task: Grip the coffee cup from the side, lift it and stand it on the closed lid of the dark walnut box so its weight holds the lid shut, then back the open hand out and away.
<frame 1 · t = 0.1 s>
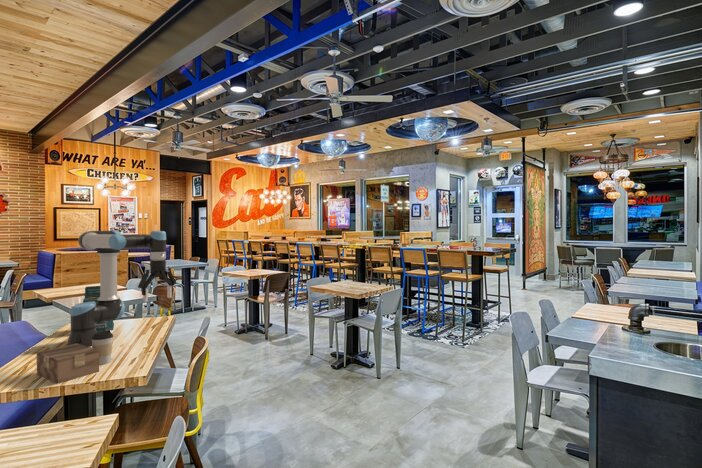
hand: (157, 299, 202), 28 cm above the table, tool pointing down, fingers open, 13 cm apart
walnut box: (68, 373, 171), on the table
coffee cup: (102, 363, 184), on the table
donation box: (98, 330, 246), on the table
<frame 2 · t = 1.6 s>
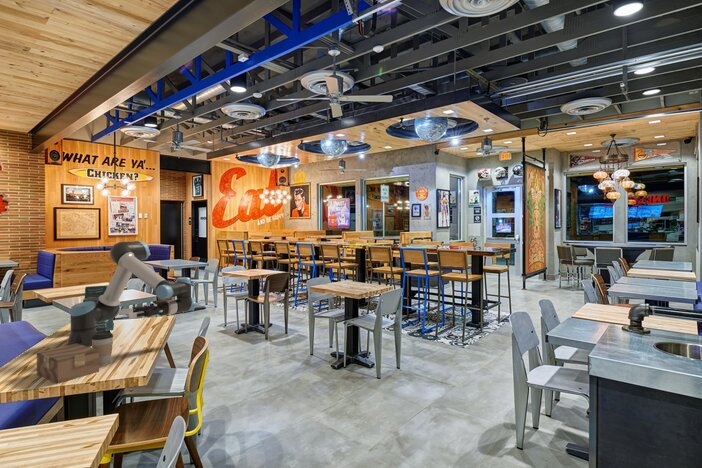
hand: (124, 314, 192), 22 cm above the table, tool horizontal, fingers open, 13 cm apart
nothing on the table moved.
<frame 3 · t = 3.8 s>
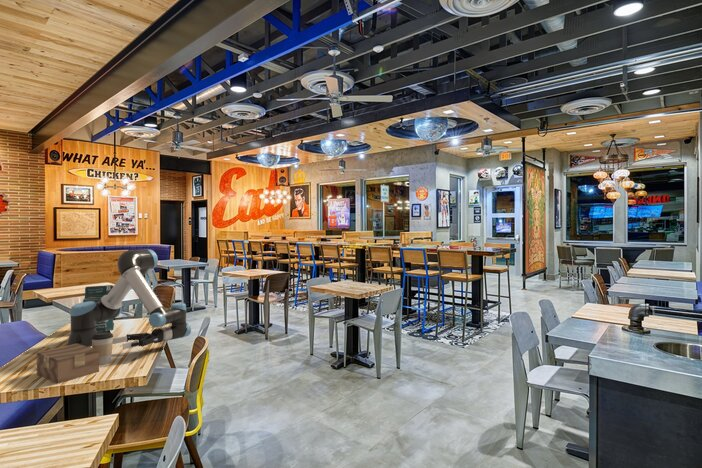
hand: (117, 343, 189), 8 cm above the table, tool horizontal, fingers open, 13 cm apart
nothing on the table moved.
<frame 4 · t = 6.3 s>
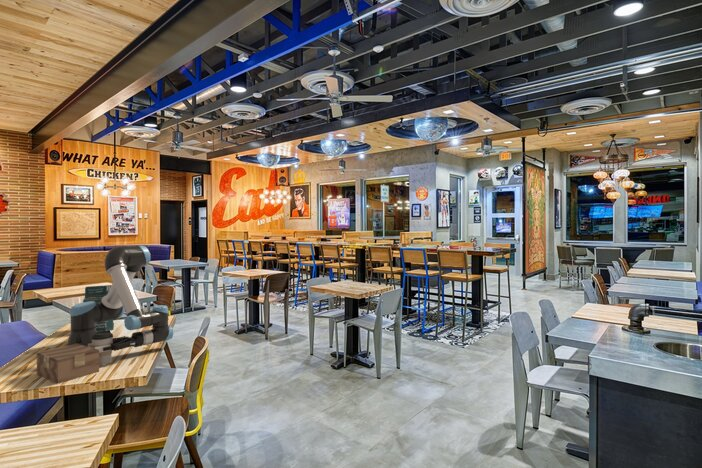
hand: (91, 348, 181), 8 cm above the table, tool horizontal, fingers closed on coffee cup, 9 cm apart
coffee cup: (102, 363, 184), on the table, touching gripper
everything else where it was.
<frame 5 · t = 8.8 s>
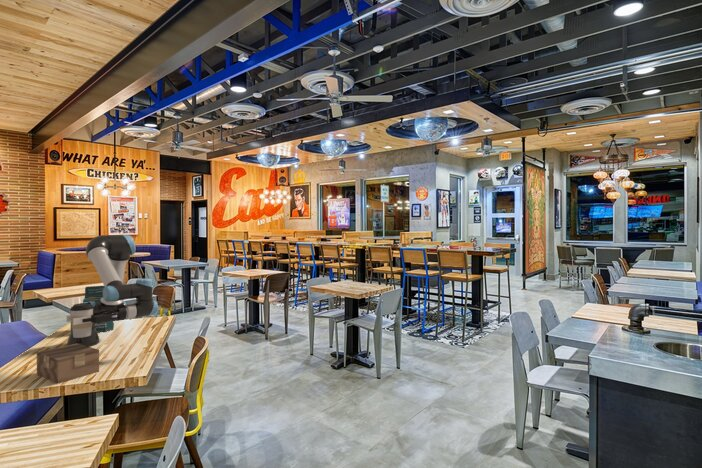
hand: (70, 320, 171), 24 cm above the table, tool horizontal, fingers closed on coffee cup, 8 cm apart
coffee cup: (82, 336, 175), point 16 cm above the table, touching gripper
everything else where it was.
when the fingers open (18 cm above the table, at t = 11.3 s): coffee cup stays where it is, resting on walnut box.
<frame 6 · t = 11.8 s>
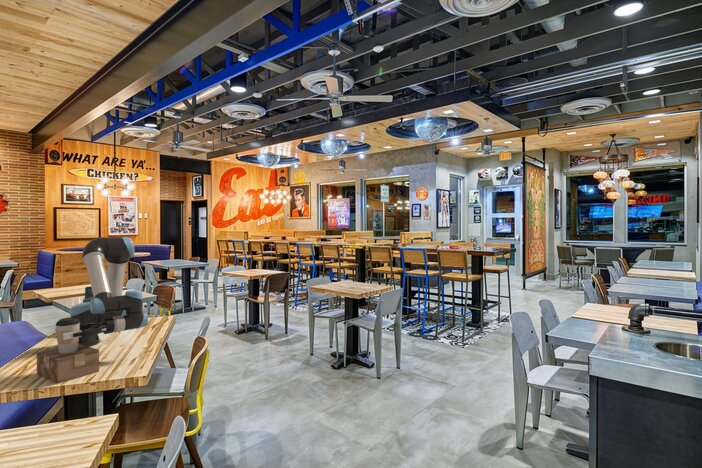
hand: (59, 333, 168), 18 cm above the table, tool horizontal, fingers open, 13 cm apart
coffee cup: (68, 351, 171), point 10 cm above the table, touching walnut box
everything else where it was.
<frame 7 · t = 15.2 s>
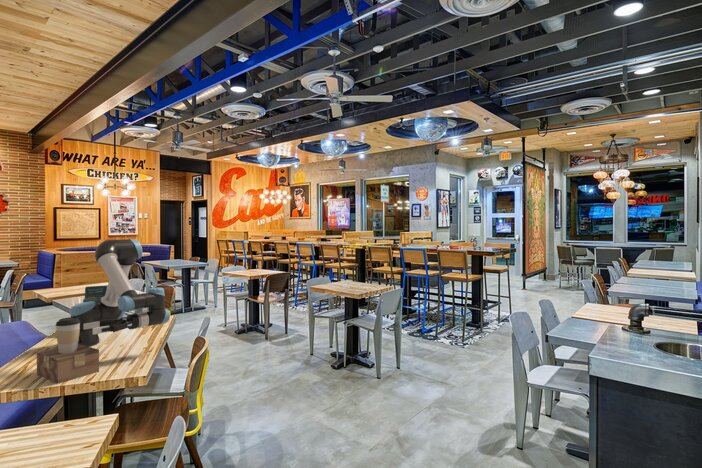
hand: (88, 329, 177), 19 cm above the table, tool horizontal, fingers open, 13 cm apart
nothing on the table moved.
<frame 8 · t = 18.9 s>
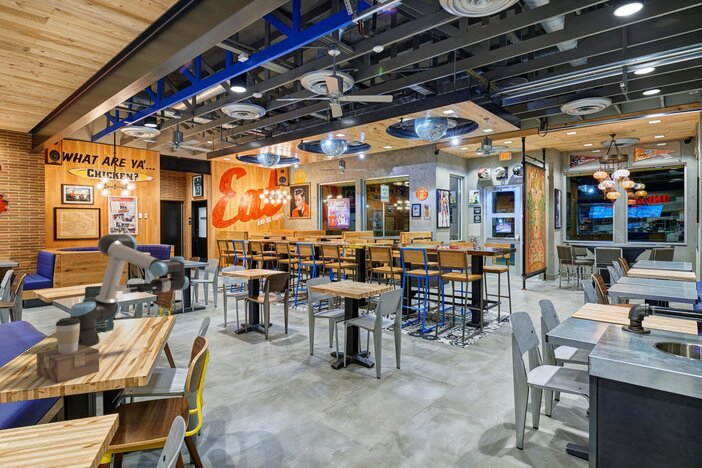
hand: (117, 289, 195), 34 cm above the table, tool horizontal, fingers open, 13 cm apart
nothing on the table moved.
at the end: coffee cup inside the target area on the walnut box (0.0 cm from its centre), point 9.8 cm above the walnut box's base; coffee cup tilted 0°; the gripper is holding nothing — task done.
